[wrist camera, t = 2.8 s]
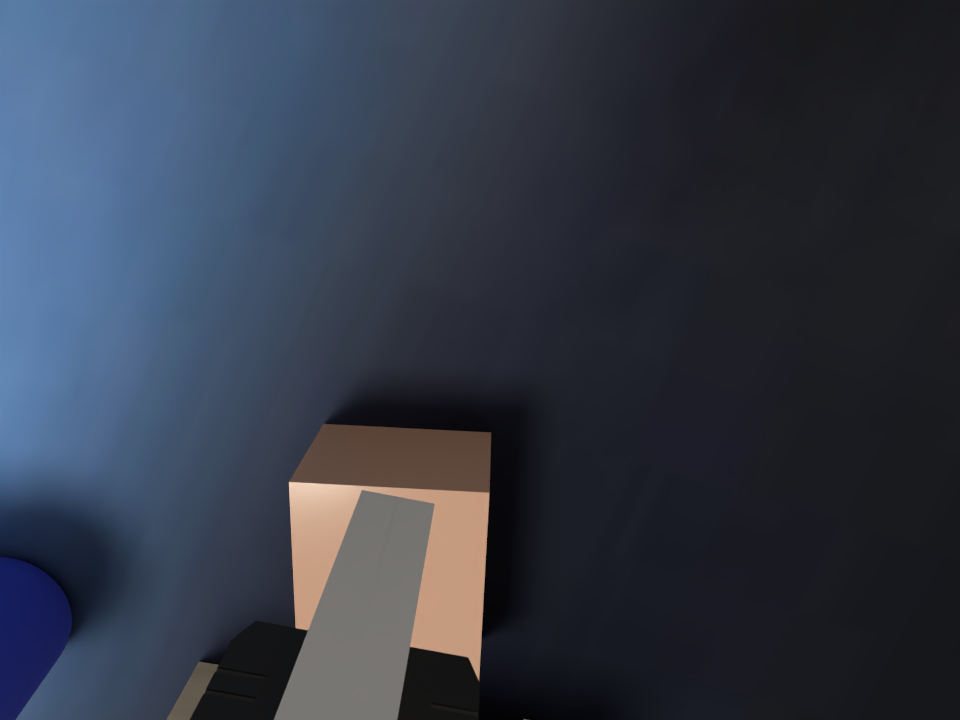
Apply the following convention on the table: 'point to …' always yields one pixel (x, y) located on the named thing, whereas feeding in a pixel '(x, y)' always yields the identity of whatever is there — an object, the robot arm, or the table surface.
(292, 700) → the robot arm
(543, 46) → the table surface
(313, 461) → the tan brown block
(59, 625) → the mug
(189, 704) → the shelf nook
